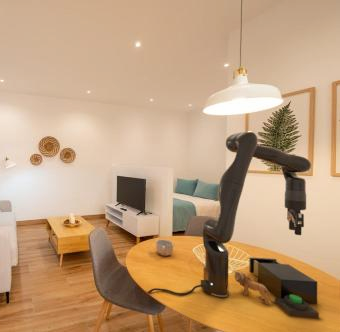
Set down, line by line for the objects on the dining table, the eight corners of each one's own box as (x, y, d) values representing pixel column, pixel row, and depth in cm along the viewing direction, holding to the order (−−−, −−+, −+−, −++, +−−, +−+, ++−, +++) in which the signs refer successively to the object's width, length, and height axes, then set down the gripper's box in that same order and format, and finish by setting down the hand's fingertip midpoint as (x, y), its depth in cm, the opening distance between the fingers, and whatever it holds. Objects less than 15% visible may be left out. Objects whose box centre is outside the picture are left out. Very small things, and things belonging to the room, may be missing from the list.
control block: (289, 315, 83) (289, 305, 83) (274, 302, 91) (274, 293, 90) (318, 318, 81) (318, 308, 81) (301, 304, 89) (301, 295, 89)
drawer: (244, 267, 119) (244, 253, 119) (269, 269, 117) (269, 255, 117) (267, 287, 100) (267, 270, 100) (297, 289, 99) (297, 272, 99)
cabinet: (257, 281, 107) (257, 262, 107) (288, 283, 105) (288, 264, 105) (280, 301, 91) (281, 279, 91) (317, 304, 89) (317, 281, 89)
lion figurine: (232, 291, 99) (232, 272, 99) (236, 287, 102) (236, 268, 102) (273, 307, 87) (274, 286, 87) (276, 302, 91) (276, 281, 91)
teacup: (159, 249, 147) (159, 237, 147) (175, 253, 141) (175, 241, 141) (152, 256, 136) (152, 244, 136) (169, 261, 130) (169, 247, 130)
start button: (294, 303, 84) (294, 299, 84) (287, 298, 88) (287, 294, 88) (304, 304, 84) (304, 300, 84) (296, 299, 87) (297, 294, 87)
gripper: (280, 196, 111) (280, 227, 111) (289, 200, 99) (289, 235, 99) (300, 197, 107) (300, 229, 108) (311, 202, 95) (311, 238, 95)
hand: (294, 232), depth 103 cm, fingers open, 8 cm apart
